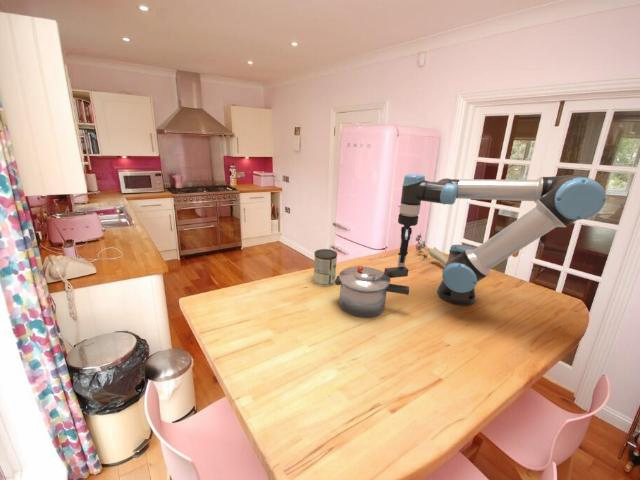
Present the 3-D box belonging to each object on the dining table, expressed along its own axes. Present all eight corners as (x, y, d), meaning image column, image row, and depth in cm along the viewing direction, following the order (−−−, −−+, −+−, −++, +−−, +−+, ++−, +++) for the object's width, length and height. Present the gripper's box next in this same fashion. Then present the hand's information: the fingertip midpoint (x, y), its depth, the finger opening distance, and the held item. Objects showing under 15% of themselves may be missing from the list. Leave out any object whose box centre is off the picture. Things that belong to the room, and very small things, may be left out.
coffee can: (314, 275, 144) (315, 248, 139) (335, 277, 143) (337, 249, 139) (311, 285, 134) (313, 256, 130) (334, 287, 133) (336, 258, 129)
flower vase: (447, 288, 153) (404, 251, 180) (466, 279, 157) (421, 244, 183) (450, 272, 146) (405, 236, 172) (469, 262, 149) (422, 229, 176)
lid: (350, 295, 105) (351, 282, 103) (332, 271, 122) (333, 260, 121) (419, 287, 113) (421, 275, 111) (393, 266, 130) (394, 255, 129)
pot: (330, 312, 114) (332, 286, 110) (338, 290, 131) (340, 267, 127) (405, 325, 108) (410, 298, 105) (404, 300, 125) (408, 277, 121)
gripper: (399, 209, 124) (391, 261, 132) (398, 217, 112) (391, 273, 120) (417, 211, 123) (409, 264, 130) (419, 219, 111) (410, 276, 118)
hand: (400, 268), depth 125 cm, fingers closed
